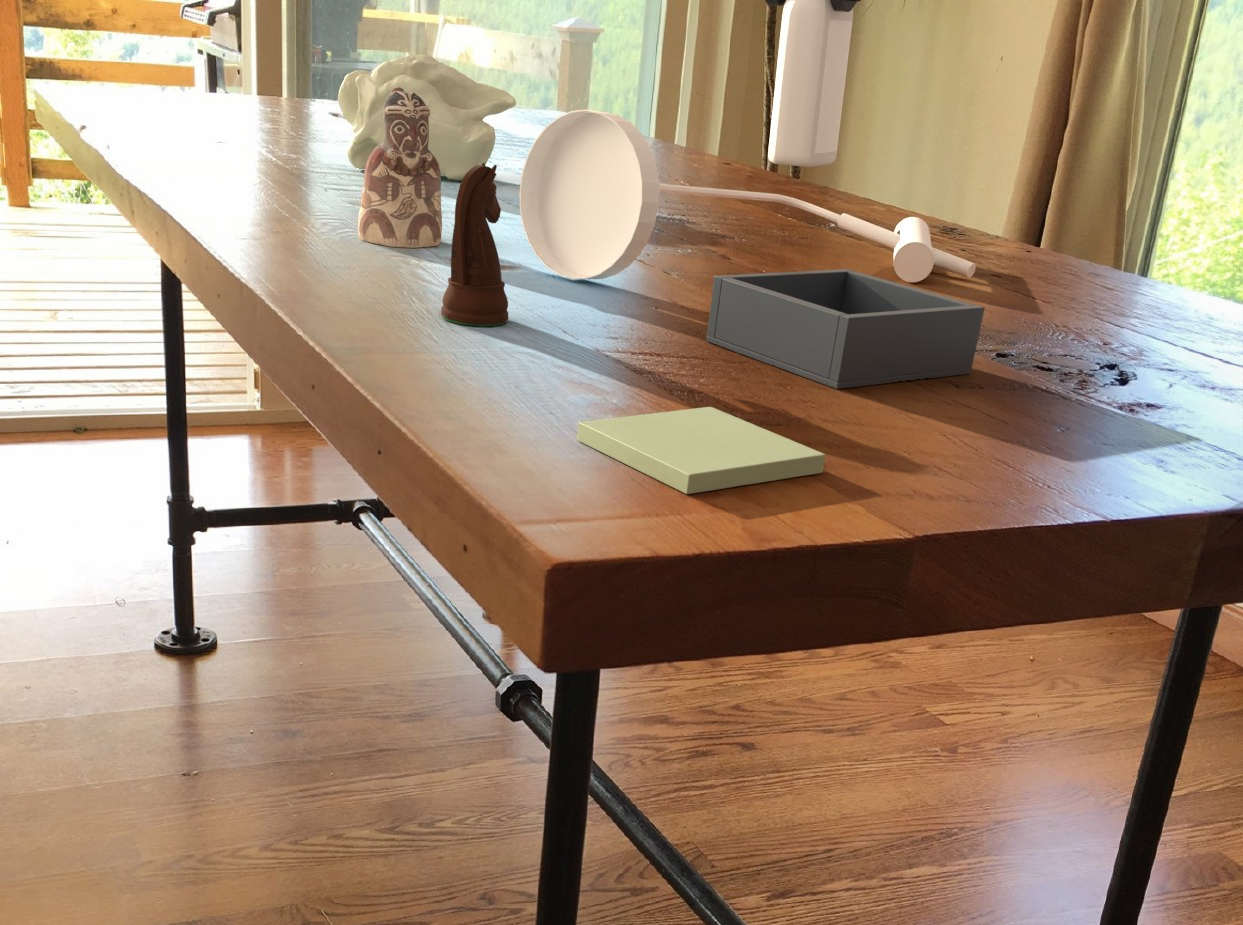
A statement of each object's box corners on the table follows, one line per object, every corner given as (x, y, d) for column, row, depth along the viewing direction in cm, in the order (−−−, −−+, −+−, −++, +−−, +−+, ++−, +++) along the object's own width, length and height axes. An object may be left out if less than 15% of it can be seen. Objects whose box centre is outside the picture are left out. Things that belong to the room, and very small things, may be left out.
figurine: (361, 245, 118) (364, 90, 113) (354, 230, 124) (357, 82, 119) (446, 249, 120) (453, 96, 114) (435, 234, 126) (441, 88, 121)
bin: (970, 373, 95) (985, 307, 93) (836, 389, 88) (849, 317, 86) (836, 330, 104) (847, 268, 102) (705, 341, 97) (714, 275, 95)
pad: (823, 473, 72) (826, 454, 71) (686, 494, 67) (689, 474, 67) (708, 423, 78) (710, 406, 78) (576, 440, 73) (578, 421, 73)
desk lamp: (771, 178, 98) (1036, 205, 131) (541, 90, 110) (838, 135, 142) (717, 350, 104) (984, 335, 137) (504, 249, 115) (798, 257, 148)
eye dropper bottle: (867, 165, 76) (900, -91, 70) (798, 168, 72) (827, -100, 67) (804, 156, 79) (832, -90, 73) (735, 159, 75) (759, -98, 70)
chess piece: (520, 319, 98) (531, 167, 93) (481, 331, 94) (490, 172, 89) (464, 308, 100) (472, 158, 95) (423, 318, 96) (429, 162, 91)
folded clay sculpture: (458, 233, 167) (522, 111, 165) (453, 220, 155) (522, 87, 152) (322, 154, 165) (384, 30, 163) (305, 134, 152) (372, -1, 150)
